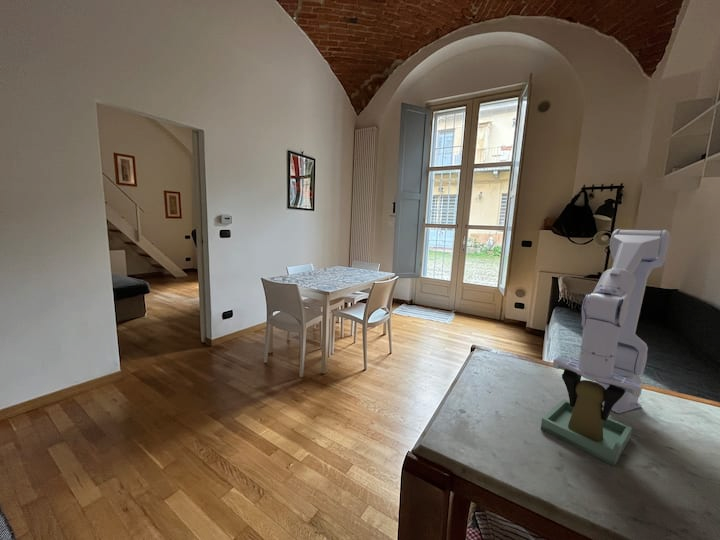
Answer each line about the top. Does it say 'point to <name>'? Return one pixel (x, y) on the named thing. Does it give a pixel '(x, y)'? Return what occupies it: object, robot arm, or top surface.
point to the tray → (605, 450)
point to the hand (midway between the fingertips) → (588, 411)
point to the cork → (588, 410)
